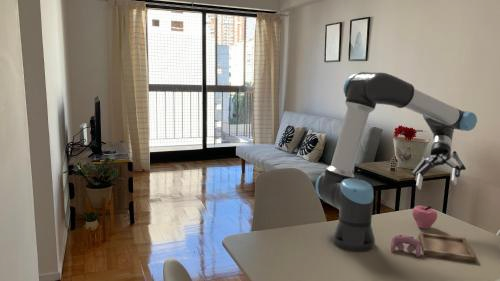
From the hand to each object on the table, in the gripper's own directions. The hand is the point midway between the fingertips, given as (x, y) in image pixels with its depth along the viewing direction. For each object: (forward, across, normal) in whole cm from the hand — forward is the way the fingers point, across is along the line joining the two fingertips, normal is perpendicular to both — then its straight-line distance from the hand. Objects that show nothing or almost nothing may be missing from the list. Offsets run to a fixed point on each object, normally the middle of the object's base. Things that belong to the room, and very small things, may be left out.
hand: (435, 185), depth 149 cm
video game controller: (+30, +8, -1) cm, 31 cm away
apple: (+8, +11, -16) cm, 21 cm away
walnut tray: (+22, -1, -11) cm, 25 cm away
